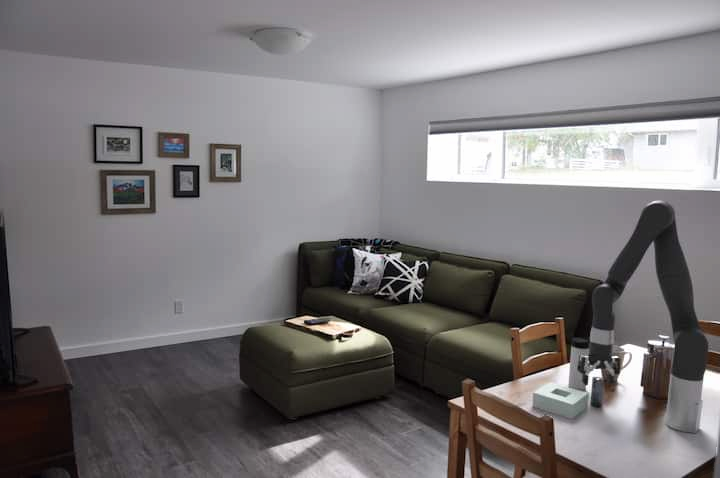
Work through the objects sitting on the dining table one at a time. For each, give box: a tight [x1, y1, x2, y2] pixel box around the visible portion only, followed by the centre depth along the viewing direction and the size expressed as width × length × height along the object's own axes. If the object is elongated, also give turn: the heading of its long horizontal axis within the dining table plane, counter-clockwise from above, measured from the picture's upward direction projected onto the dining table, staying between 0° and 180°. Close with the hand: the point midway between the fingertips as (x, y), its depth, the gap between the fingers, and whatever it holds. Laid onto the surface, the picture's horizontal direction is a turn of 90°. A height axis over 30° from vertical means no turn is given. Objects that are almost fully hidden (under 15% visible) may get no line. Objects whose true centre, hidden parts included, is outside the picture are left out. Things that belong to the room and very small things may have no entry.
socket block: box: [532, 381, 589, 420], centre depth 195 cm, size 14×14×5 cm
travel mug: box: [567, 336, 590, 392], centre depth 211 cm, size 6×7×20 cm
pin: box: [589, 376, 606, 409], centre depth 196 cm, size 4×4×10 cm
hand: (597, 384), depth 196 cm, fingers open, 8 cm apart
